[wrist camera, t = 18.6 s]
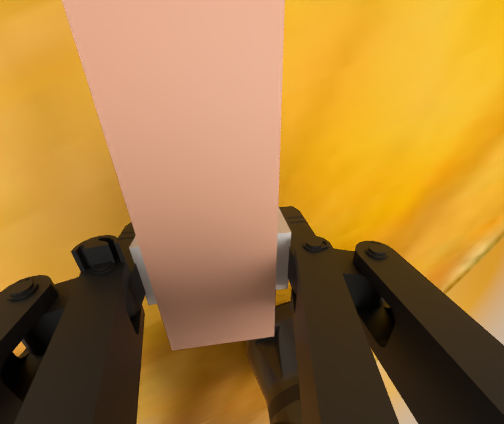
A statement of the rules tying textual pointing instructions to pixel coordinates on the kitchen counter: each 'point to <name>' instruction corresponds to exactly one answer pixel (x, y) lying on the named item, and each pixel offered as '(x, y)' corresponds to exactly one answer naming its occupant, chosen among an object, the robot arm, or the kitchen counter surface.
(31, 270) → the kitchen counter surface
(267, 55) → the bar
